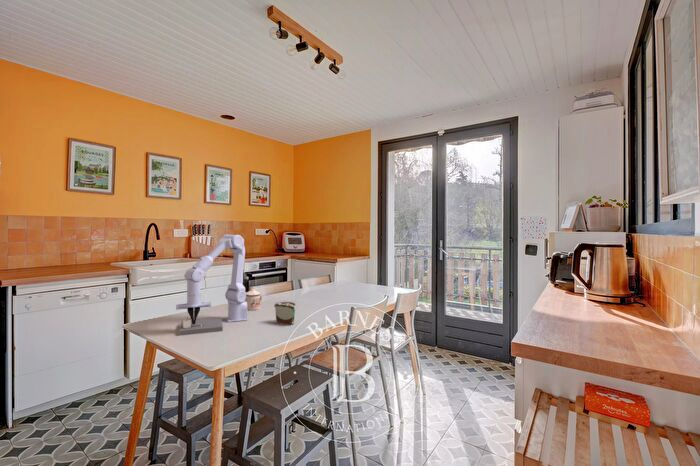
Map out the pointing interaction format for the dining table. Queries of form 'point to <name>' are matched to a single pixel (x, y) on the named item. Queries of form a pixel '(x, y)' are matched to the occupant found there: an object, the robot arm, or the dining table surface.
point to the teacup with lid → (253, 300)
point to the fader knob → (187, 323)
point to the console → (202, 326)
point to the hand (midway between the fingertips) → (193, 323)
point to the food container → (285, 312)
